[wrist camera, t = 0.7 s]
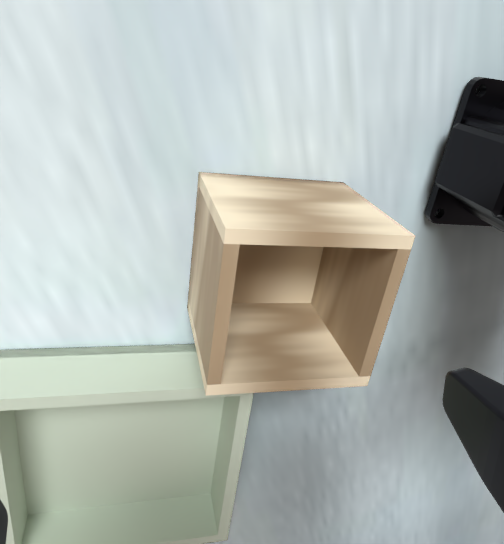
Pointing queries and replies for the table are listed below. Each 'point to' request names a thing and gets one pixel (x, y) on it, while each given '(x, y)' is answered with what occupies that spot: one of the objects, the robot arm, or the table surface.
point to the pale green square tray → (116, 446)
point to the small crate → (290, 283)
